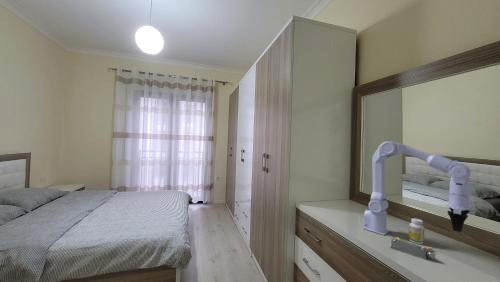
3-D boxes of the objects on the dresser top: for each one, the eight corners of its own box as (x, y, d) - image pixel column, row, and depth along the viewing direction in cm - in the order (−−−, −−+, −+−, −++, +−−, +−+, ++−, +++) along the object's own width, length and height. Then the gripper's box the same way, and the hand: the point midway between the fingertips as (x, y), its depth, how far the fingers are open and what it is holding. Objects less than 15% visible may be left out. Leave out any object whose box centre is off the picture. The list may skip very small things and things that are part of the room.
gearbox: (391, 247, 87) (391, 239, 87) (393, 245, 90) (393, 237, 90) (434, 262, 77) (434, 253, 77) (435, 259, 80) (435, 250, 80)
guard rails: (391, 244, 90) (391, 241, 90) (396, 239, 95) (396, 236, 95) (429, 257, 81) (429, 254, 81) (432, 250, 86) (433, 247, 86)
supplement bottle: (415, 244, 91) (416, 222, 91) (405, 238, 97) (406, 217, 97) (427, 244, 92) (428, 222, 92) (416, 238, 97) (417, 217, 97)
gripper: (473, 199, 76) (471, 237, 76) (474, 193, 86) (472, 227, 86) (446, 195, 81) (445, 230, 81) (450, 190, 91) (449, 222, 91)
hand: (457, 228), depth 84 cm, fingers open, 7 cm apart
